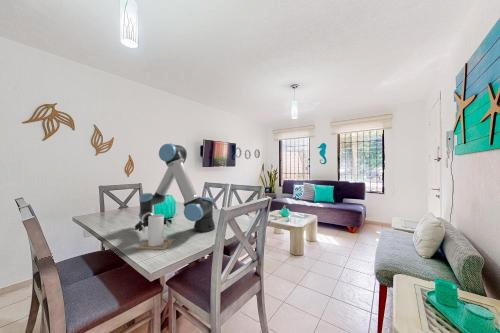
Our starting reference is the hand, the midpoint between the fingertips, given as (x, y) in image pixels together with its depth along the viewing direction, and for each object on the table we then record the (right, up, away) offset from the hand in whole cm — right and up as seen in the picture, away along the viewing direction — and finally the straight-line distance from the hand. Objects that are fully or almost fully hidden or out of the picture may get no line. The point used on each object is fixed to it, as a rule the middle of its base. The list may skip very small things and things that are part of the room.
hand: (157, 228), depth 112 cm
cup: (-2, -10, +3) cm, 11 cm away
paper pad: (-2, -10, +3) cm, 11 cm away
